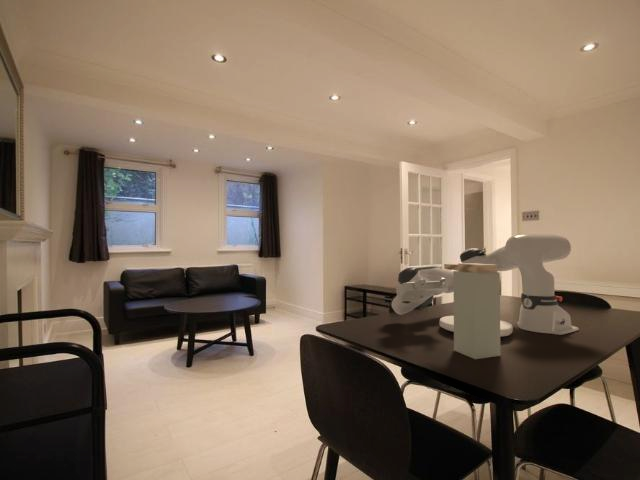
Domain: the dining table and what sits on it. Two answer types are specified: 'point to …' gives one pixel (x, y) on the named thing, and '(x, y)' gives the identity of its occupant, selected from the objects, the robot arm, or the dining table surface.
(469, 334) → the shelf block
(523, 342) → the dining table surface
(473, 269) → the wooden paddle
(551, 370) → the dining table surface
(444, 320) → the plate
